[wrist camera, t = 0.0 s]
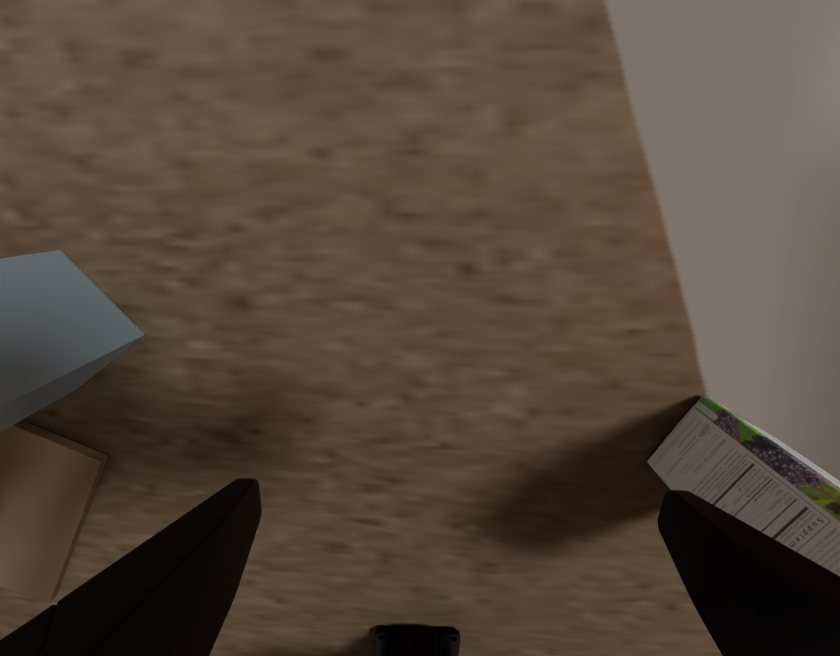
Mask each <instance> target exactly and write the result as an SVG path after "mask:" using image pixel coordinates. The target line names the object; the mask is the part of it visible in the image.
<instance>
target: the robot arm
mask: <svg viewBox="0 0 840 656" xmlns="http://www.w3.org/2000/svg"><path fill="white" fill-rule="evenodd" d="M260 518H261V500H260V491H259V484H258V481H257V480H256V479H251V478H239V479H236V480H234V481H233V482H231V483H230V484H228V485H227V486H225V487H224V488H222V489H221V490H220V491H218V492H217V493H215V494H214V495H212V496H211V497H209V498H208V499H206V500H205V501H204V502H202V503H201V504H199V505H198V506H196V507H195V508H193V509H192V510H190V511H189V512H187V513H186V514H185V515H183V516H182V517H180V518H179V519H177V520H176V521H174V522H173V523H171V524H170V525H169V526H167V527H166V528H164V529H163V530H161V531H160V532H158V533H157V534H155V535H154V536H152V537H151V538H150V539H148V540H147V541H145V542H144V543H142V544H141V545H139V546H138V547H136V548H135V549H133V550H132V551H131V552H129V553H128V554H126V555H125V556H123V557H122V558H120V559H119V560H117V561H116V562H115V563H113V564H112V565H110V566H109V567H107V568H106V569H104V570H103V571H101V572H100V573H98V574H97V575H96V576H94V577H93V578H91V579H90V580H88V581H87V582H85V583H84V584H82V585H81V586H80V587H78V588H77V589H75V590H74V591H72V592H71V593H69V594H68V595H66V596H65V597H63V598H62V599H61V600H59V601H58V603H57V606H56V605H52V606H50V607H49V608H47V609H46V610H44V611H43V612H41V613H40V614H38V615H37V616H36V617H34V618H33V619H31V620H30V621H28V622H27V623H25V624H24V625H22V626H21V627H19V628H18V629H16V630H15V631H13V632H12V633H10V634H9V635H7V636H6V637H4V638H3V639H1V640H0V656H209V655H210V652H211V650H212V648H213V646H214V643H215V641H216V639H217V636H218V634H219V632H220V630H221V627H222V625H223V623H224V620H225V618H226V616H227V614H228V611H229V609H230V607H231V604H232V602H233V599H234V597H235V595H236V592H237V589H238V586H239V583H240V580H241V577H242V574H243V571H244V568H245V565H246V562H247V559H248V556H249V553H250V550H251V547H252V543H253V540H254V537H255V534H256V531H257V528H258V525H259V522H260ZM658 528H659V531H660V533H661V535H662V538H663V540H664V542H665V544H666V546H667V548H668V551H669V553H670V555H671V557H672V559H673V561H674V564H675V566H676V568H677V570H678V572H679V574H680V577H681V579H682V581H683V583H684V585H685V587H686V590H687V592H688V594H689V596H690V598H691V600H692V602H693V604H694V606H695V608H696V609H697V611H698V613H699V615H700V617H701V619H702V620H703V622H704V624H705V626H706V627H707V629H708V631H709V633H710V634H711V636H712V638H713V640H714V641H715V643H716V645H717V647H718V648H719V650H720V652H721V654H722V655H723V656H840V576H838V575H837V574H835V573H833V572H831V571H830V570H828V569H826V568H824V567H822V566H821V565H819V564H817V563H815V562H814V561H812V560H810V559H808V558H807V557H805V556H803V555H801V554H799V553H798V552H796V551H794V550H792V549H791V548H789V547H787V546H785V545H784V544H782V543H780V542H778V541H776V540H775V539H773V538H771V537H769V536H768V535H766V534H764V533H762V532H761V531H759V530H757V529H755V528H753V527H752V526H750V525H748V524H746V523H745V522H743V521H741V520H739V519H738V518H736V517H734V516H732V515H730V514H729V513H727V512H725V511H723V510H722V509H720V508H718V507H716V506H715V505H713V504H711V503H709V502H707V501H706V500H704V499H702V498H700V497H699V496H697V495H695V494H693V493H692V492H690V491H686V490H669V491H667V492H666V493H665V495H664V499H663V502H662V506H661V509H660V512H659V516H658ZM459 644H460V634H459V631H458V630H457V629H442V628H392V627H381V628H378V629H377V630H376V633H375V656H458V654H459Z"/></svg>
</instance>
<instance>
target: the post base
mask: <svg viewBox="0 0 840 656" xmlns="http://www.w3.org/2000/svg"><path fill="white" fill-rule="evenodd" d="M107 458H108V455H106V454H103V453H101V452H98V451H96V450H93V449H91V448H89V447H86V446H84V445H81V444H79V443H76V442H74V441H72V440H69V439H67V438H64V437H62V436H59V435H57V434H55V433H52V432H50V431H47V430H45V429H42V428H40V427H38V426H35V425H33V424H30V423H28V422H25V421H23V420H21V421H19V422H18V423H16V424H14V425H12V426H10V427H9V428H7V429H5V430H3V431H1V432H0V587H2V588H5V589H8V590H11V591H14V592H17V593H20V594H23V595H26V596H29V597H32V598H35V599H37V600H40V601H43V602H46V603H50V602H51V601H52V600H53V599H54V598H55V597H56V596H57V593H58V590H59V588H60V585H61V582H62V579H63V577H64V574H65V571H66V569H67V566H68V563H69V561H70V558H71V555H72V553H73V550H74V547H75V544H76V542H77V539H78V536H79V534H80V531H81V528H82V526H83V523H84V520H85V518H86V515H87V512H88V509H89V507H90V504H91V501H92V499H93V496H94V493H95V491H96V488H97V485H98V483H99V480H100V477H101V474H102V472H103V469H104V466H105V464H106V461H107Z"/></svg>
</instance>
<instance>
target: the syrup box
mask: <svg viewBox="0 0 840 656" xmlns="http://www.w3.org/2000/svg"><path fill="white" fill-rule="evenodd" d="M647 463H648V464H649V465H650V467H651V468H652V469H653V470H654V471H655V472H656V474H657V475H658V476H659V477H660V478H661V479H662V481H663V482H664V483H665V484H666V485H667V486H668V488H669V489H670V490H686V491H690V492H692V493H693V494H695V495H697V496H699V497H700V498H702V499H704V500H706V501H707V502H709V503H711V504H713V505H715V506H716V507H718V508H720V509H722V510H723V511H725V512H727V513H729V514H730V515H732V516H734V517H736V518H738V519H739V520H741V521H743V522H745V523H746V524H748V525H750V526H752V527H753V528H755V529H757V530H759V531H761V532H762V533H764V534H766V535H768V536H769V537H771V538H773V539H775V540H776V541H778V542H780V543H782V544H784V545H785V546H787V547H789V548H791V549H792V550H794V551H796V552H798V553H799V554H801V555H803V556H805V557H807V558H808V559H810V560H812V561H814V562H815V563H817V564H819V565H821V566H822V567H824V568H826V569H828V570H830V571H831V572H833V573H835V574H837V575H838V576H840V481H838V480H837V479H836V478H834V477H833V476H831V475H830V474H828V473H827V472H825V471H824V470H822V469H821V468H819V467H818V466H816V465H815V464H814V463H812V462H810V461H809V460H808V459H806V458H805V457H803V456H802V455H800V454H799V453H797V452H795V451H794V450H793V449H791V448H789V447H788V446H787V445H785V444H784V443H782V442H781V441H779V440H778V439H776V438H775V437H773V436H772V435H770V434H769V433H767V432H766V431H764V430H762V429H761V428H759V427H758V426H756V425H755V424H753V423H752V422H750V421H748V420H747V419H745V418H743V417H742V416H740V415H738V414H736V413H735V412H733V411H731V410H730V409H728V408H726V407H724V406H722V405H721V404H719V403H717V402H715V401H713V400H712V399H710V398H708V397H707V396H704V397H701V398H700V399H699V400H698V401H697V403H696V404H695V405H694V406H693V407H692V408H691V409H690V411H689V412H688V413H687V414H686V415H685V416H684V418H683V419H682V420H681V421H680V422H679V423H678V424H677V426H676V427H675V428H674V429H673V430H672V432H671V433H670V434H669V435H668V436H667V437H666V439H665V440H664V441H663V442H662V444H661V445H660V446H659V447H658V448H657V450H656V451H655V452H654V453H653V454H652V456H651V457H650V458H649V459H648V460H647Z"/></svg>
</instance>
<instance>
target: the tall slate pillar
mask: <svg viewBox="0 0 840 656" xmlns="http://www.w3.org/2000/svg"><path fill="white" fill-rule="evenodd" d="M143 336H144V334H143V333H142V331H141V330H140V329H139V328H138V327H137V326H136V325H135V324H134V323H133V322H132V321H131V320H130V319H129V318H128V317H127V316H126V315H125V314H124V313H123V312H122V311H121V310H120V309H119V308H118V307H117V306H116V305H115V304H114V303H113V302H112V301H111V300H110V299H109V298H108V297H107V296H106V295H105V294H104V293H103V292H102V291H101V290H100V289H99V288H98V287H97V286H96V285H95V284H94V283H93V282H92V281H91V280H90V279H89V278H88V277H87V276H86V275H85V274H84V273H83V272H82V271H81V270H80V269H79V268H78V267H77V266H76V265H75V264H74V263H73V262H72V261H71V260H70V259H69V258H68V257H67V256H66V255H65V254H64V253H63V252H62V251H61V250H57V251H50V252H43V253H36V254H29V255H22V256H15V257H8V258H1V259H0V432H1V431H3V430H5V429H7V428H9V427H10V426H12V425H14V424H16V423H18V422H19V421H21V420H23V419H25V418H26V417H28V416H30V415H32V414H34V413H35V412H37V411H39V410H41V409H43V408H44V407H46V406H48V405H50V404H51V403H53V402H55V401H57V400H59V399H60V398H62V397H64V396H66V395H68V394H69V393H71V392H73V391H75V390H76V389H78V388H79V387H80V386H82V385H83V384H84V383H85V382H87V381H88V380H89V379H90V378H92V377H93V376H94V375H95V374H96V373H98V372H99V371H100V370H101V369H103V368H104V367H105V366H106V365H108V364H109V363H110V362H111V361H113V360H114V359H115V358H116V357H118V356H119V355H120V354H121V353H123V352H124V351H125V350H126V349H128V348H129V347H130V346H131V345H133V344H134V343H135V342H136V341H138V340H139V339H140V338H141V337H143Z"/></svg>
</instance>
